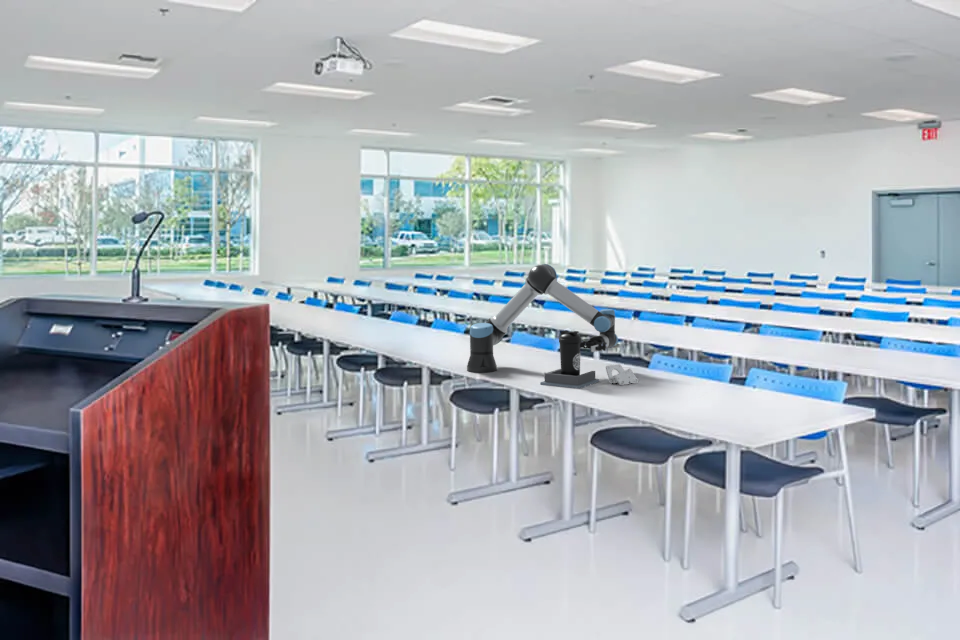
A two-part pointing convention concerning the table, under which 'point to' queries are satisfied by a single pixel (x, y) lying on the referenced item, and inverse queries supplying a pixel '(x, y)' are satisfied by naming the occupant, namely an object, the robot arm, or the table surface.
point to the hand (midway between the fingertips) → (578, 348)
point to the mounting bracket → (620, 375)
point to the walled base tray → (569, 379)
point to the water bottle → (570, 353)
